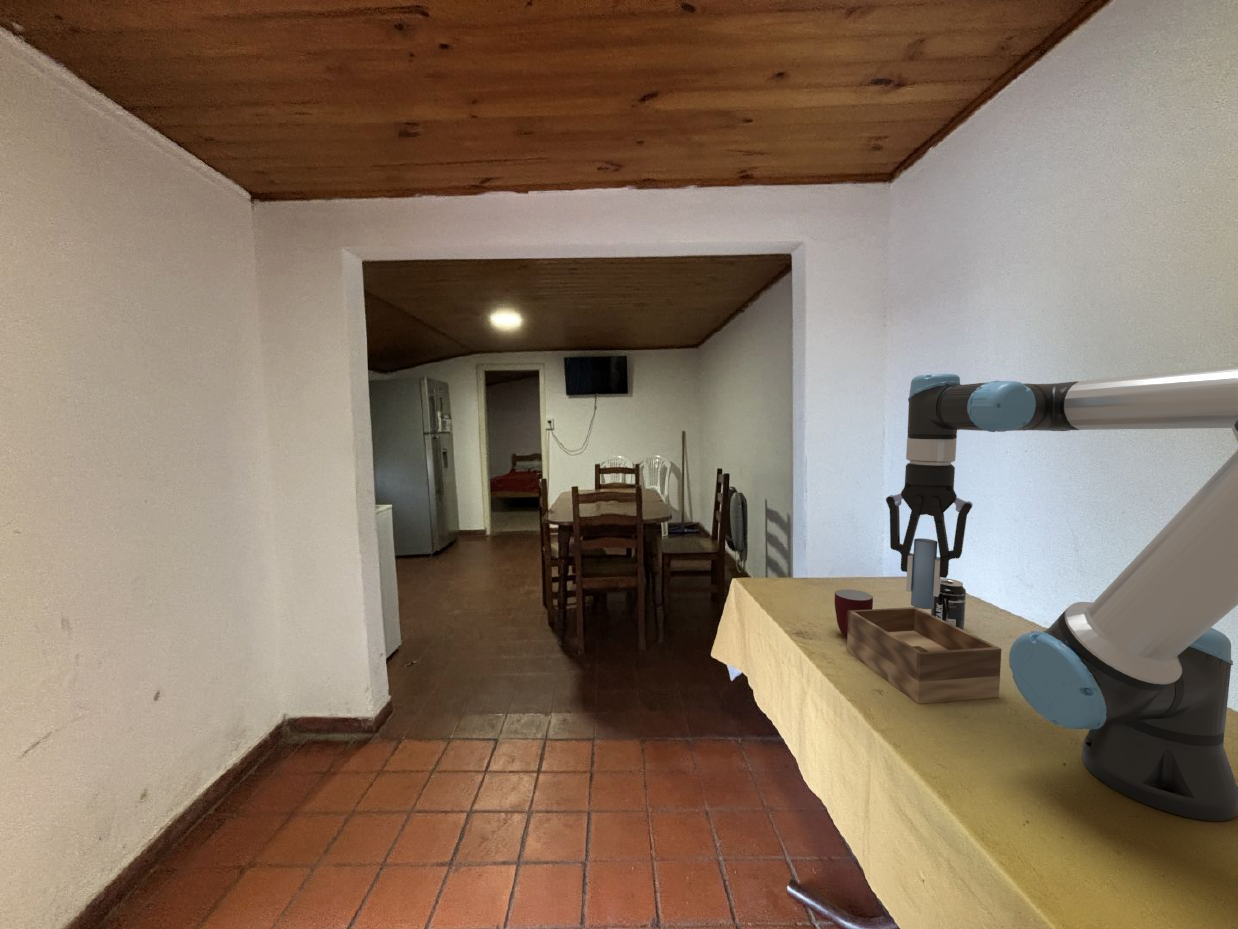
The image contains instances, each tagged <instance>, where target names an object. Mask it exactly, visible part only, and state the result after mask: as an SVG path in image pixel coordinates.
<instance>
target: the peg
mask: <svg viewBox="0 0 1238 929" xmlns="http://www.w3.org/2000/svg"><path fill="white" fill-rule="evenodd" d="M937 557H938V540H936V539H930V538H923V537H922V538H914V539H913V574H912V591H911V592H910V593H911V594H910V605H911V607H916V608H919V609H921V610H931V609H933V608H934V596H933V589H934V571H935V559H936V558H937Z"/></svg>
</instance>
